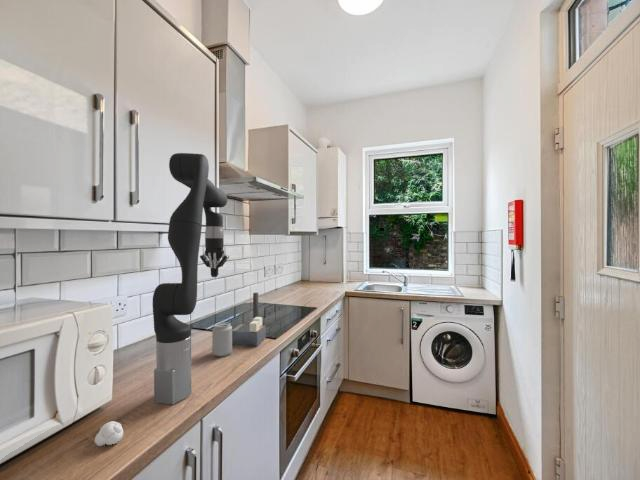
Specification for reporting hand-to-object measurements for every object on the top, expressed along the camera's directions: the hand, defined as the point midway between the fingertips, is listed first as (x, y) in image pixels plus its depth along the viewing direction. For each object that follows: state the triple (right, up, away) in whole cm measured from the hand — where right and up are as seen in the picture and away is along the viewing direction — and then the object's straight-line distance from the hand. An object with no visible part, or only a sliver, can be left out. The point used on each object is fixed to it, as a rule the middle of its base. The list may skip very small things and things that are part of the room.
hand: (214, 276), depth 126 cm
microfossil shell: (-2, -31, -60) cm, 67 cm away
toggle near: (+18, -23, -2) cm, 29 cm away
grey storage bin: (+14, -29, +2) cm, 32 cm away
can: (+7, -30, -11) cm, 32 cm away
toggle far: (+18, -23, +4) cm, 29 cm away
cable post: (+16, -29, +10) cm, 34 cm away
